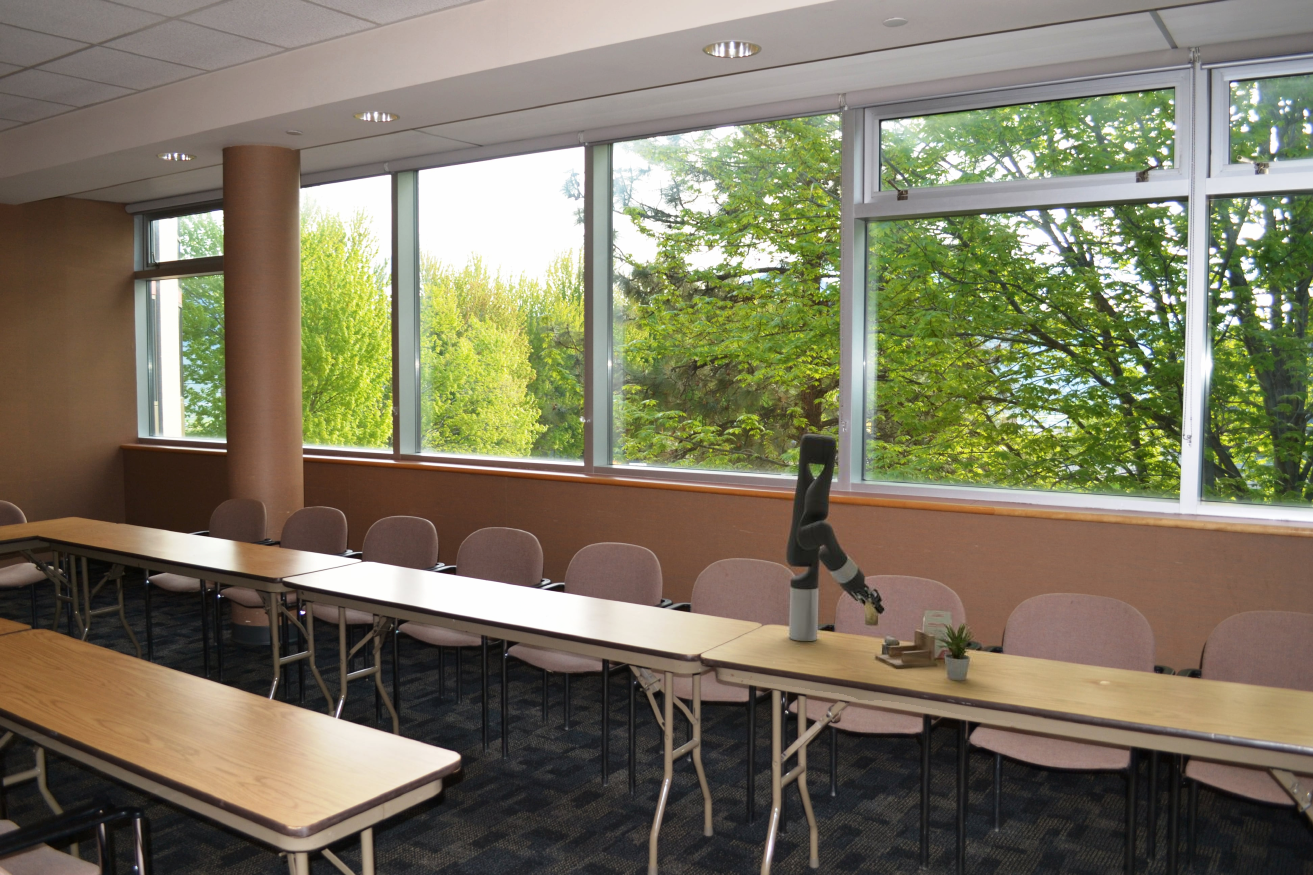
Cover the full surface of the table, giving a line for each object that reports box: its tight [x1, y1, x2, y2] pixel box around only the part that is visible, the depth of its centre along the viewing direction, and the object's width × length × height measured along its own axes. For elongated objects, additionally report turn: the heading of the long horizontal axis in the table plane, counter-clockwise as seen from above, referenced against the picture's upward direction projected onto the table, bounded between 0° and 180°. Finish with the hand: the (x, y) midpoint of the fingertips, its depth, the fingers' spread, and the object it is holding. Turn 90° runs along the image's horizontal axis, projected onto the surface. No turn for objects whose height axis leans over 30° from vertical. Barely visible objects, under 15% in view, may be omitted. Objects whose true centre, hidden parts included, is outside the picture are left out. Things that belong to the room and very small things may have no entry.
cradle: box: [874, 628, 938, 669], centre depth 299 cm, size 16×14×8 cm
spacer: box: [864, 596, 880, 627], centre depth 291 cm, size 4×4×10 cm
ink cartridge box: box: [922, 610, 953, 660], centre depth 303 cm, size 9×5×15 cm, turn 76°
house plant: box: [931, 621, 980, 681], centre depth 281 cm, size 14×14×16 cm
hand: (876, 610), depth 292 cm, fingers closed on spacer, 4 cm apart
